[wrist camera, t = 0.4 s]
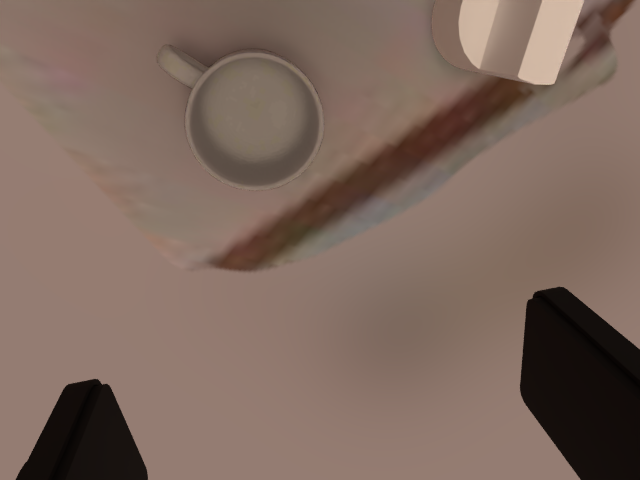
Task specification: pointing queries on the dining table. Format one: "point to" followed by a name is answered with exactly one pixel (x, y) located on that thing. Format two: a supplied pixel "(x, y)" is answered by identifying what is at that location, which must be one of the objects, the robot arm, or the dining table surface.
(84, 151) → the dining table surface
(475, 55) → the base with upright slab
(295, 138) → the teacup
